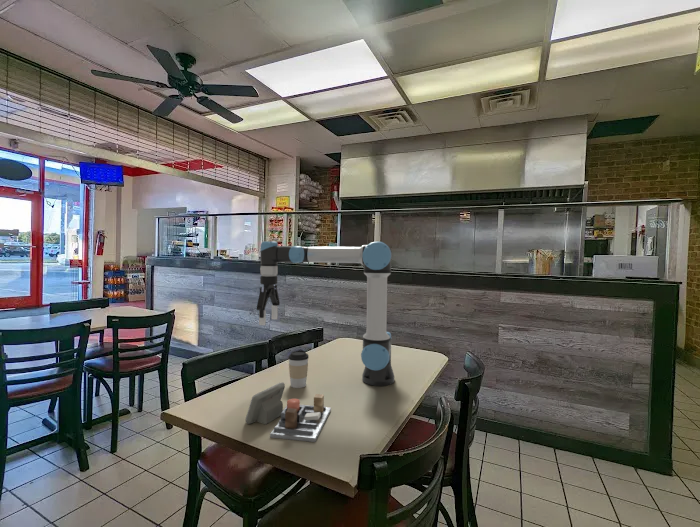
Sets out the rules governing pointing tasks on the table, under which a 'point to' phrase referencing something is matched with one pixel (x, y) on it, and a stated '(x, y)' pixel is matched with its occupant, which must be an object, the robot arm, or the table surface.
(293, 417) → the dark brown wooden block
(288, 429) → the grey compartment tray
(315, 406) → the tan wooden block
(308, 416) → the block
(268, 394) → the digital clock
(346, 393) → the table surface
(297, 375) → the coffee cup
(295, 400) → the button
